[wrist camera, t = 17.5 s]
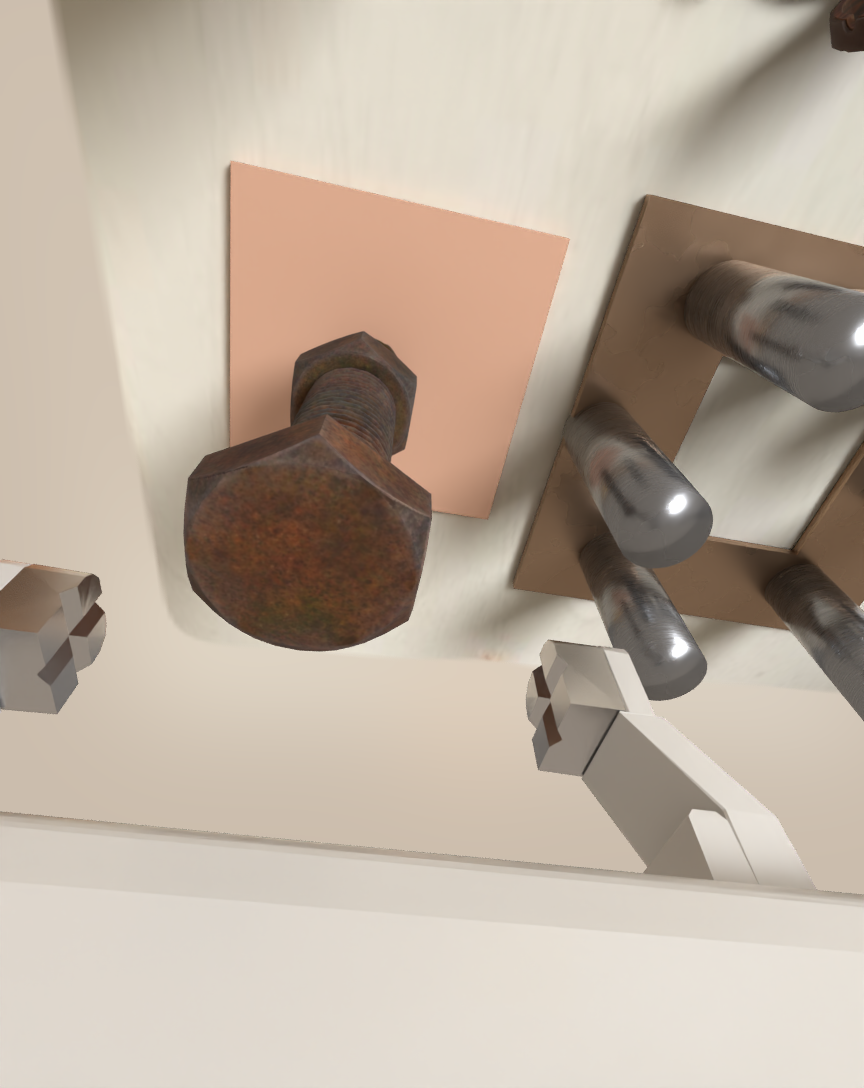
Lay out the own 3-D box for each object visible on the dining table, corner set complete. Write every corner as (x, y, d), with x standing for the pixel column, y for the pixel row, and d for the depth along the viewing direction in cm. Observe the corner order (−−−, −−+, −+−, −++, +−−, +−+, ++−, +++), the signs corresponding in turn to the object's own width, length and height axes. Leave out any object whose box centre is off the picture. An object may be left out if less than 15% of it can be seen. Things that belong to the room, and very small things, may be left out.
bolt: (409, 439, 26) (398, 675, 14) (301, 420, 26) (188, 648, 13) (433, 310, 23) (447, 465, 11) (311, 285, 23) (176, 417, 10)
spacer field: (1087, 302, 24) (1392, 359, 16) (831, 631, 34) (947, 760, 27) (644, 193, 22) (763, 203, 14) (510, 582, 32) (538, 709, 24)
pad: (567, 238, 22) (569, 239, 22) (487, 515, 29) (487, 519, 29) (233, 161, 21) (230, 160, 20) (232, 473, 28) (229, 477, 27)
